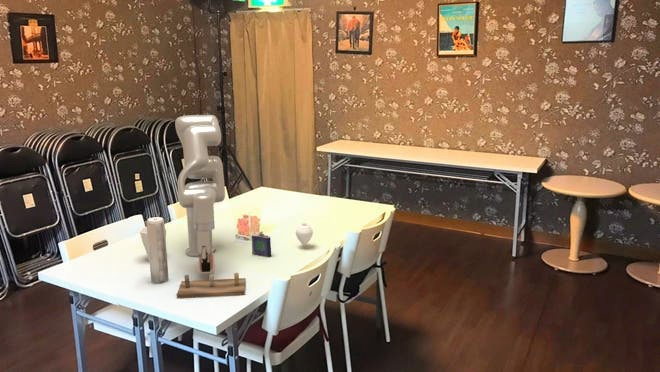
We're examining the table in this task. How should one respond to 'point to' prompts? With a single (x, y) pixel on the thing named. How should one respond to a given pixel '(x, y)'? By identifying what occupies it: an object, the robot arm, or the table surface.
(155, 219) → the beige tall cylinder
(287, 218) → the table surface
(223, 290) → the pin board
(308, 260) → the table surface
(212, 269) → the sleeve
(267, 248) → the flask
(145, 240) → the cup
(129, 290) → the table surface
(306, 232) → the spinning top
